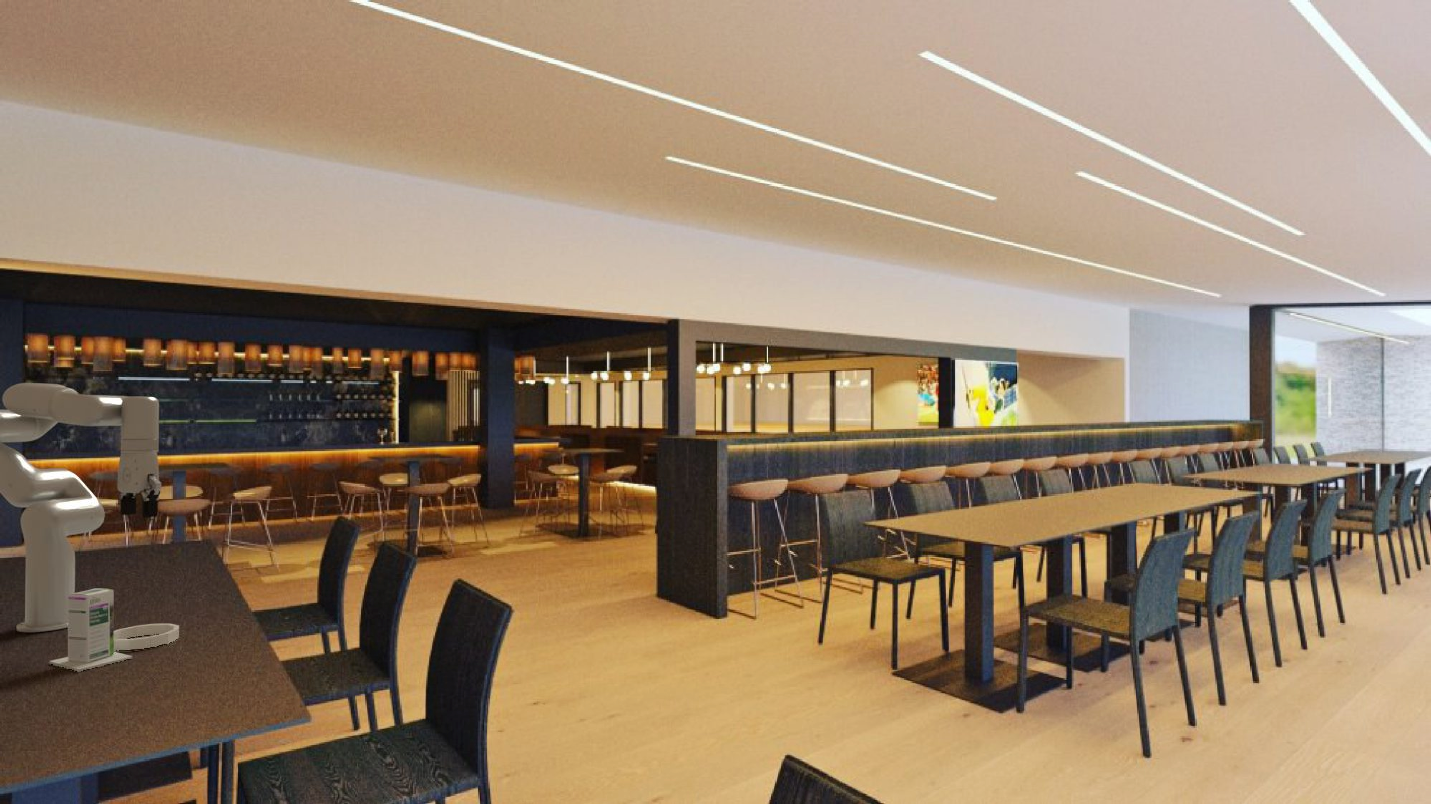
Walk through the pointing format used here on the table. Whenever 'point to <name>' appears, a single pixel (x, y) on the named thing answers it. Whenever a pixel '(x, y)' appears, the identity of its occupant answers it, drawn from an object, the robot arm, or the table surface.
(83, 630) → the syrup box
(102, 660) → the mat
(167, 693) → the table surface
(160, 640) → the ring dish
